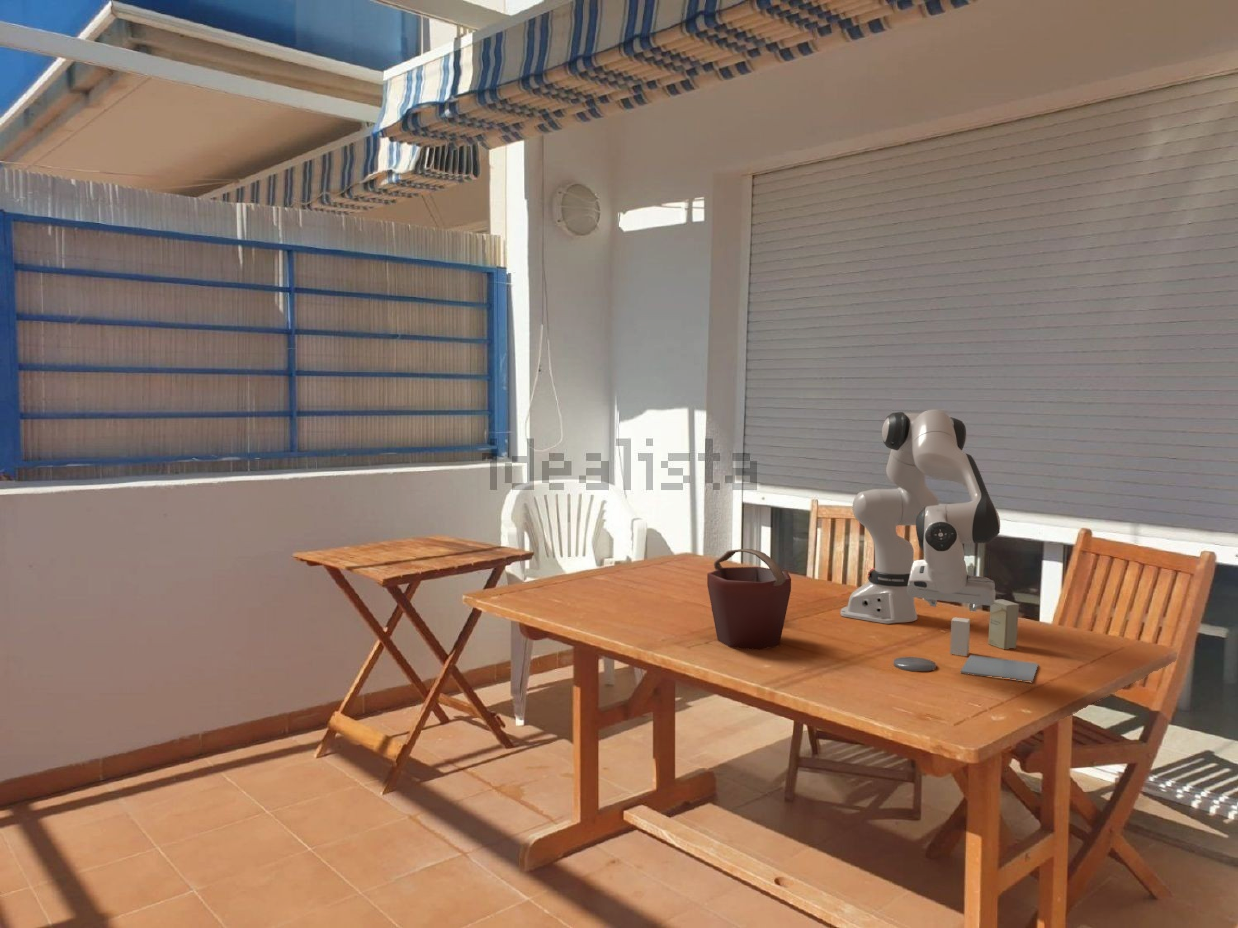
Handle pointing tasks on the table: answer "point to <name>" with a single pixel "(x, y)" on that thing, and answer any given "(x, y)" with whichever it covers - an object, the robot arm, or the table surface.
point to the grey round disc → (914, 664)
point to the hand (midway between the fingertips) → (953, 606)
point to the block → (960, 636)
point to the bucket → (749, 602)
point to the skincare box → (1003, 624)
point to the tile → (1000, 668)
